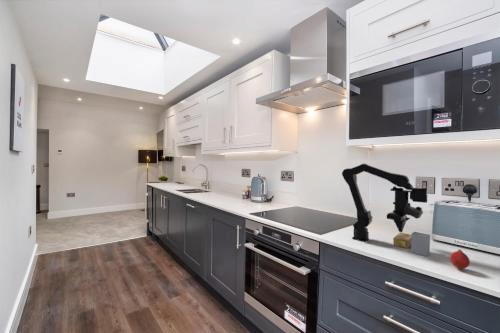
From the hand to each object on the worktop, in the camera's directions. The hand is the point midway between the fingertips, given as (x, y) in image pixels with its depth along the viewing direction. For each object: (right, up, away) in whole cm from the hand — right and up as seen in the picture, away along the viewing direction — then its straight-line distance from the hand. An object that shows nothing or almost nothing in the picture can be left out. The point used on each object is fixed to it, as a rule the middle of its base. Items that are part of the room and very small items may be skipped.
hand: (400, 231), depth 118 cm
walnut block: (0, -6, 0) cm, 6 cm away
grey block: (+4, -8, -8) cm, 12 cm away
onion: (+8, -8, -24) cm, 27 cm away
